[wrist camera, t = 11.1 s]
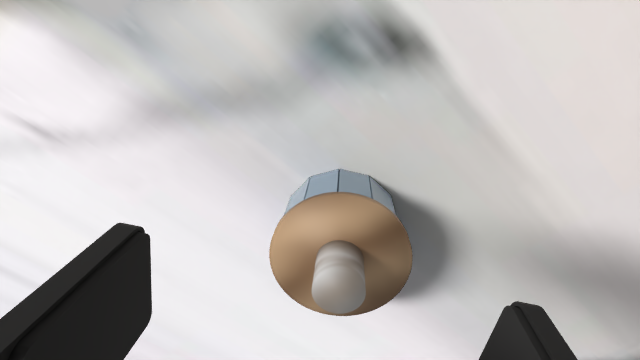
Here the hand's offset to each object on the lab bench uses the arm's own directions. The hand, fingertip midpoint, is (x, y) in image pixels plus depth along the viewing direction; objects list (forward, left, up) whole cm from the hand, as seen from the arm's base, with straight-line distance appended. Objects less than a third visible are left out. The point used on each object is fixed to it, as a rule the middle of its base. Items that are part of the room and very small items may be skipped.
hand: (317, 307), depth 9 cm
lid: (-8, +8, -19) cm, 22 cm away
